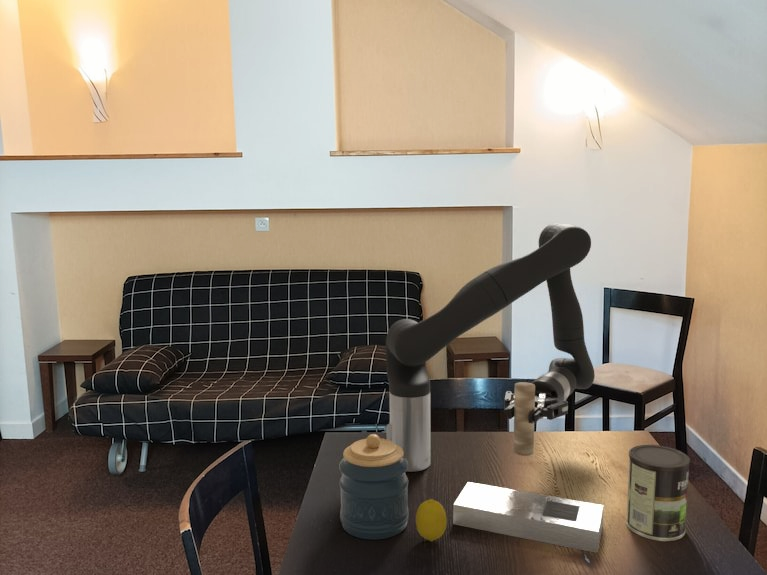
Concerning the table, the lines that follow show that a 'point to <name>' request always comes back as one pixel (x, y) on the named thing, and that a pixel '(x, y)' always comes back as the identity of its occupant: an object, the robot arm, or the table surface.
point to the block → (530, 516)
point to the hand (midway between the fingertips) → (519, 416)
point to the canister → (374, 489)
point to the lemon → (431, 520)
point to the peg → (523, 418)
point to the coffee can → (657, 492)
